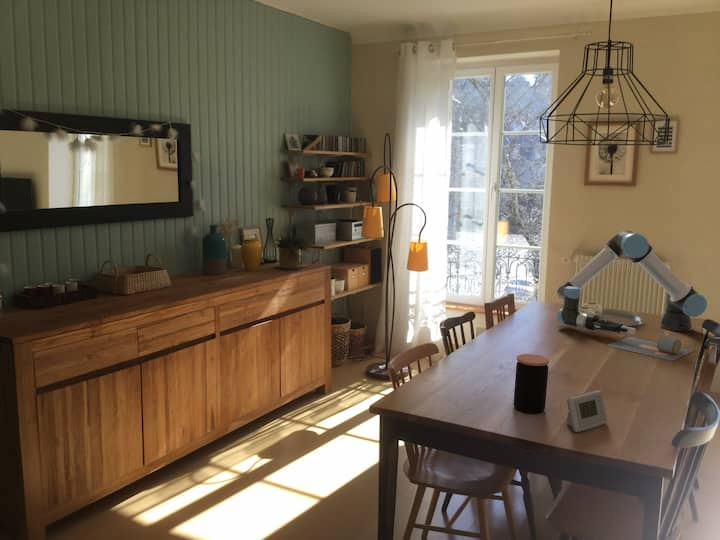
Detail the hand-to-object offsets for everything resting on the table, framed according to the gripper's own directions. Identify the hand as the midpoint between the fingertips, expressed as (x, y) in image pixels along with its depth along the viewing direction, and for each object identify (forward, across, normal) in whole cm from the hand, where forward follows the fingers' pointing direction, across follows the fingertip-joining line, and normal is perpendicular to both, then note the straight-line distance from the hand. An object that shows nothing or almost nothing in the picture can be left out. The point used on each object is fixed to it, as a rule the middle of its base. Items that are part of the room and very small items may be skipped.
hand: (634, 331), depth 310 cm
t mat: (+8, +1, -6) cm, 10 cm away
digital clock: (+33, +109, -7) cm, 114 cm away
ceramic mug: (+17, 0, -6) cm, 18 cm away
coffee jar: (+13, +111, -6) cm, 112 cm away
